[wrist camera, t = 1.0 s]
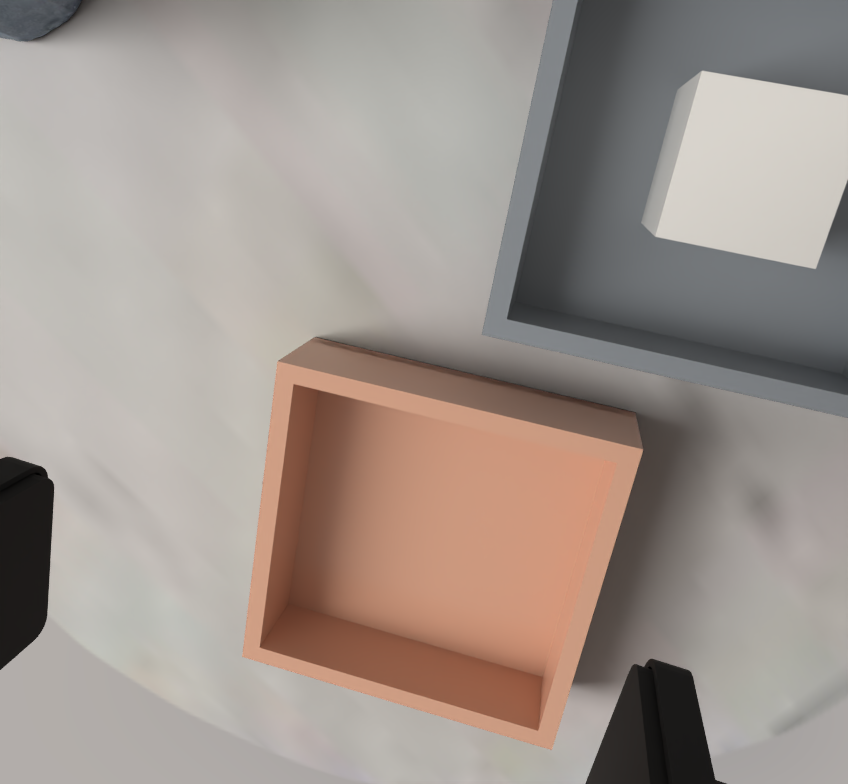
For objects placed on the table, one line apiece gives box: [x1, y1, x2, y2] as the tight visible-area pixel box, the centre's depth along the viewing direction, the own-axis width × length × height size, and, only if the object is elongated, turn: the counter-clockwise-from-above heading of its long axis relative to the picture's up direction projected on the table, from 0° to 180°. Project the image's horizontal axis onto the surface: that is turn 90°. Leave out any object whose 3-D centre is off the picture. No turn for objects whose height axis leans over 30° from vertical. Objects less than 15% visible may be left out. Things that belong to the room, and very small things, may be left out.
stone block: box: [641, 71, 848, 269], centre depth 25 cm, size 5×5×6 cm
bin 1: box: [242, 337, 643, 750], centre depth 34 cm, size 15×15×4 cm
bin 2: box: [482, 0, 848, 418], centre depth 27 cm, size 15×15×4 cm
